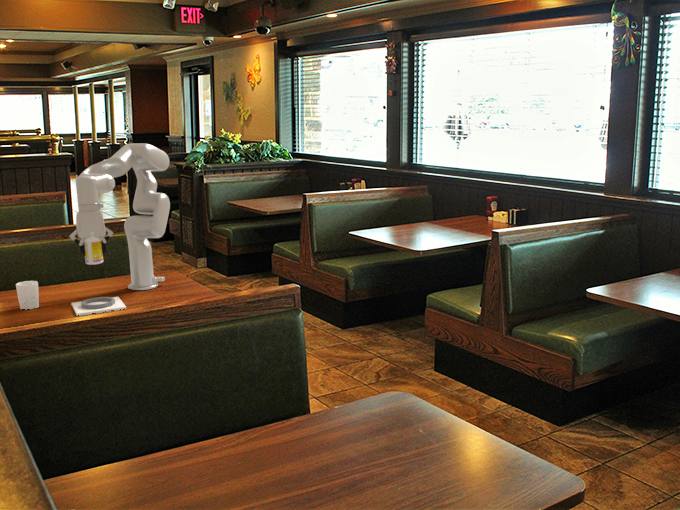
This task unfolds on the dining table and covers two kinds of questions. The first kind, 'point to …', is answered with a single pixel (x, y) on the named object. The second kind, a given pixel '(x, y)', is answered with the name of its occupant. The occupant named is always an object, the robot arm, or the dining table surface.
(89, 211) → the robot arm
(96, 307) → the mount board
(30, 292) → the white cup
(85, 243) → the supplement bottle
